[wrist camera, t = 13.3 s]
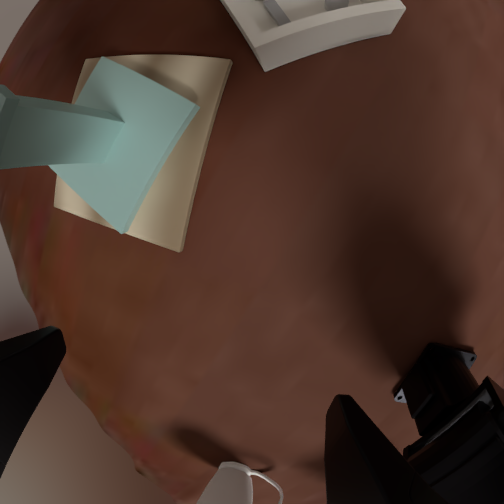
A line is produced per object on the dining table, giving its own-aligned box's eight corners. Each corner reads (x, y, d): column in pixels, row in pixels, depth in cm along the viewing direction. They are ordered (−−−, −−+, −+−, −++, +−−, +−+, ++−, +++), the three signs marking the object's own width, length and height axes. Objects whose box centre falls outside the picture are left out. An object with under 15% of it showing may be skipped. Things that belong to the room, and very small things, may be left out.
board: (232, 62, 16) (230, 59, 15) (182, 250, 20) (179, 252, 19) (89, 60, 17) (85, 59, 16) (58, 205, 21) (53, 206, 21)
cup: (204, 451, 27) (184, 502, 19) (287, 461, 25) (279, 517, 17) (213, 475, 29) (197, 519, 21) (285, 484, 27) (277, 531, 19)
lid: (205, 110, 16) (81, 45, 5) (134, 228, 20) (5, 283, 8) (115, 62, 16) (3, 21, 5) (62, 164, 19) (-50, 178, 8)
